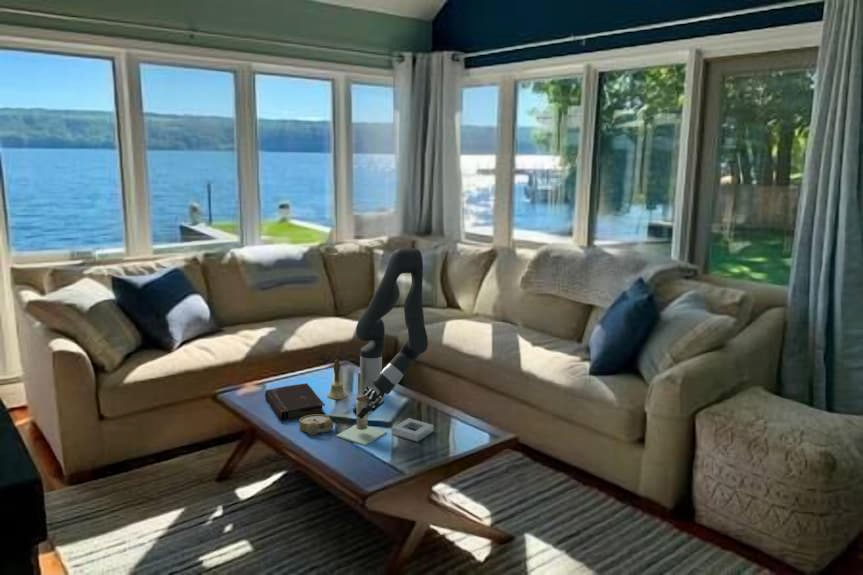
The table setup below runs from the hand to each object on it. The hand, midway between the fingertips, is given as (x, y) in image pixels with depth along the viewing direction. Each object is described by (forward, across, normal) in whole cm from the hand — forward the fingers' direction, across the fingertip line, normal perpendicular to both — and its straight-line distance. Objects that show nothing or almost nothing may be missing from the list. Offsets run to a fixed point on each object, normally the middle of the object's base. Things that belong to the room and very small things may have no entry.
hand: (357, 414), depth 232 cm
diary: (+15, -36, -2) cm, 39 cm away
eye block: (-8, +6, +20) cm, 22 cm away
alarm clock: (+14, -12, -2) cm, 18 cm away
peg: (+2, 0, +5) cm, 6 cm away
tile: (+4, 0, +7) cm, 8 cm away
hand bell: (+1, -40, +11) cm, 42 cm away
